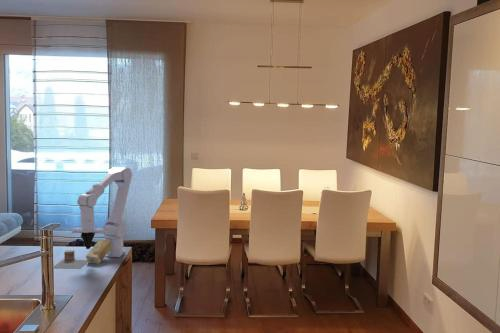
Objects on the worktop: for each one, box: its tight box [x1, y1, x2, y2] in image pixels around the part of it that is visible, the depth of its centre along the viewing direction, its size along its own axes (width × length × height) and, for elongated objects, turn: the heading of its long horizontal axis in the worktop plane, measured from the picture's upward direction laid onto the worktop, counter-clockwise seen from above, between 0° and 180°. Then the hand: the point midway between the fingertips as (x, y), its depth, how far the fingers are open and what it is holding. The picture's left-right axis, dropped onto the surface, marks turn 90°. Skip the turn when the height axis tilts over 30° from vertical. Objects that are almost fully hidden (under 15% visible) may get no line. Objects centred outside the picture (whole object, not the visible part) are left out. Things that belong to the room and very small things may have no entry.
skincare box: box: [85, 238, 112, 265], centre depth 228 cm, size 6×4×12 cm
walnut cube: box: [63, 249, 75, 261], centre depth 230 cm, size 4×4×4 cm
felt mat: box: [53, 259, 88, 270], centre depth 223 cm, size 12×13×1 cm
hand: (88, 248), depth 222 cm, fingers closed
